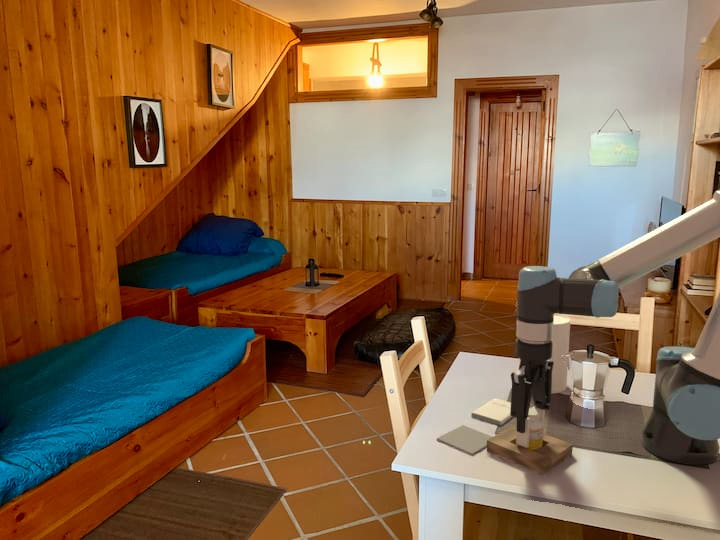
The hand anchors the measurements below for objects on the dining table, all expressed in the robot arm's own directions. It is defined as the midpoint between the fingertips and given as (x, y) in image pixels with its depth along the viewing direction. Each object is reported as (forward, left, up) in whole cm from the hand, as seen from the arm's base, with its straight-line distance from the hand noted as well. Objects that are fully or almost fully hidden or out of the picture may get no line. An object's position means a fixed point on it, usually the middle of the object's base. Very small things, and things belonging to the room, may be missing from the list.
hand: (529, 440), depth 124 cm
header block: (0, 0, -3) cm, 3 cm away
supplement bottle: (0, 0, -3) cm, 3 cm away
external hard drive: (+17, -13, -4) cm, 22 cm away
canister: (+19, -39, -3) cm, 44 cm away
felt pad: (+13, +5, -3) cm, 14 cm away
